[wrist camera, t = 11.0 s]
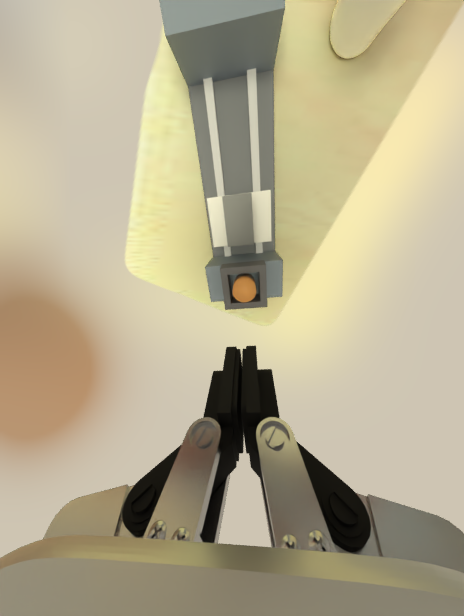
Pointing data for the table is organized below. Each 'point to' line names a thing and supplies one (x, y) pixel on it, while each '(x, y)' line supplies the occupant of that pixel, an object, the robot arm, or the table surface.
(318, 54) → the table surface
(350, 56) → the drinking glass
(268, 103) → the rail track
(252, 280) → the button
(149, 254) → the table surface
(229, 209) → the carriage
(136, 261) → the table surface
